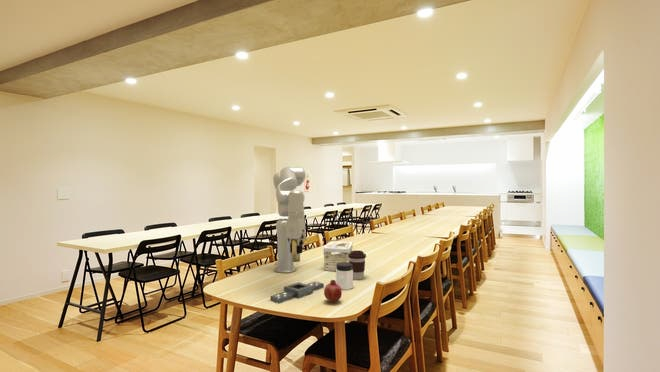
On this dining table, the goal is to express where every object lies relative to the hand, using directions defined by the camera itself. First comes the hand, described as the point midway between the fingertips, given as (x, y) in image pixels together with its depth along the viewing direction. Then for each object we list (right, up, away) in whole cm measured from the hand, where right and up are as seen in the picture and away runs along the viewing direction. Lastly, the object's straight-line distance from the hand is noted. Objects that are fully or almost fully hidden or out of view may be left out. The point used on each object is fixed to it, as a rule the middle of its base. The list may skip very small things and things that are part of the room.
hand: (296, 252), depth 169 cm
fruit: (+18, -20, -15) cm, 31 cm away
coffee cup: (+32, -19, +23) cm, 44 cm away
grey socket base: (+2, -19, -4) cm, 20 cm away
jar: (+24, -19, +6) cm, 32 cm away
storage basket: (+22, -19, +48) cm, 56 cm away
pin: (0, -4, 0) cm, 4 cm away
